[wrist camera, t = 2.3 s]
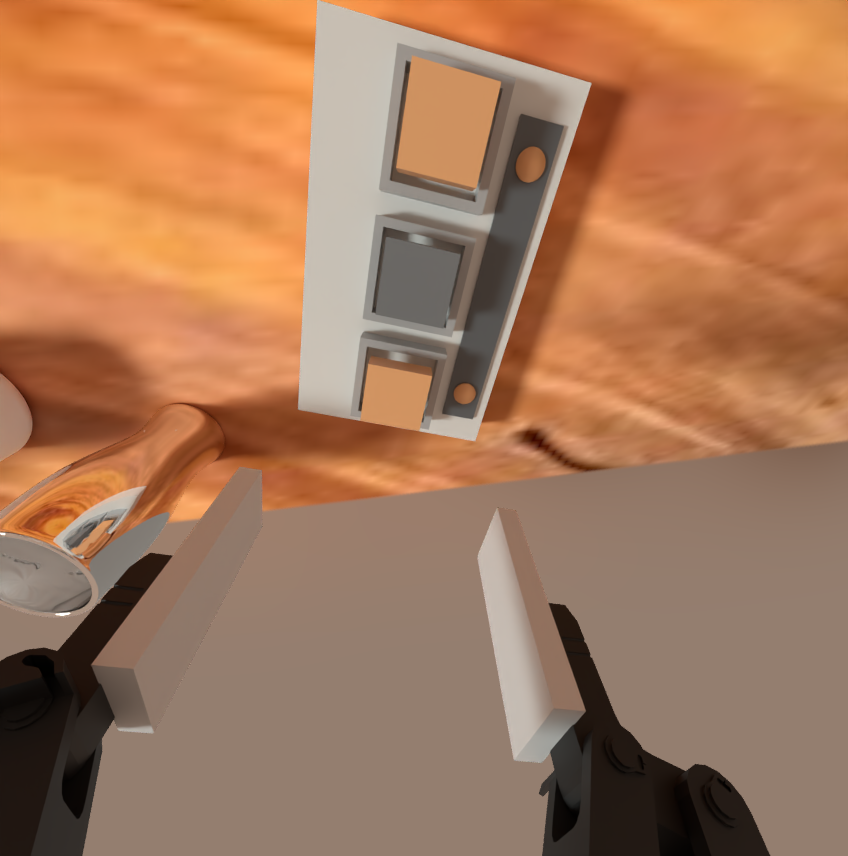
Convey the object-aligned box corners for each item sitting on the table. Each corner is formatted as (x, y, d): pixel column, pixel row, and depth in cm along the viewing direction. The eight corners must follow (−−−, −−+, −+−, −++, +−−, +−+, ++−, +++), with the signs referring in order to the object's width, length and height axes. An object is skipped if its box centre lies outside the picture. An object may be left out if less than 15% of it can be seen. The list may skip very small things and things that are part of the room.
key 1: (371, 355, 23) (368, 363, 22) (431, 367, 24) (432, 376, 22) (363, 410, 25) (360, 420, 24) (419, 420, 26) (419, 431, 24)
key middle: (388, 236, 20) (386, 236, 19) (457, 252, 21) (460, 254, 19) (378, 308, 22) (375, 314, 21) (441, 322, 22) (443, 328, 21)
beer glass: (244, 459, 33) (129, 610, 20) (175, 472, 34) (19, 628, 21) (206, 390, 30) (38, 518, 17) (130, 407, 30) (-89, 542, 17)
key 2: (412, 69, 17) (412, 55, 15) (494, 93, 17) (501, 81, 16) (397, 171, 19) (396, 167, 17) (472, 191, 19) (476, 188, 18)
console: (330, 30, 20) (308, -20, 16) (570, 101, 21) (604, 71, 17) (308, 393, 30) (291, 418, 26) (470, 423, 32) (477, 451, 28)
